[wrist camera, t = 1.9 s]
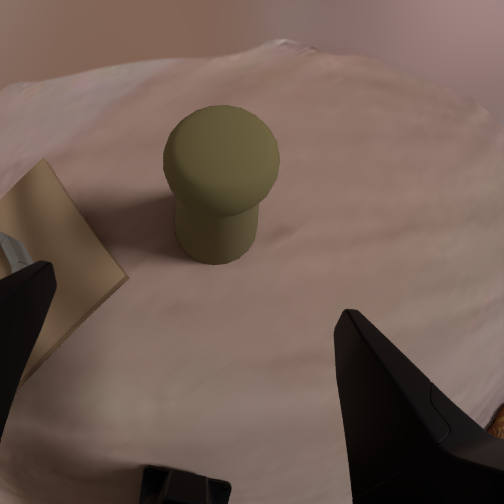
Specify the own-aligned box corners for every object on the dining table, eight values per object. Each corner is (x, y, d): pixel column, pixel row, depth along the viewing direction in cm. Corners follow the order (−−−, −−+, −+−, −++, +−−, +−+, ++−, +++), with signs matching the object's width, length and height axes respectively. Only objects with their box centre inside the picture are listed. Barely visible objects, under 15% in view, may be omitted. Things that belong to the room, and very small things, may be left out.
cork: (273, 219, 23) (323, 137, 12) (221, 282, 21) (234, 241, 11) (211, 171, 23) (216, 67, 13) (157, 229, 22) (118, 148, 11)
